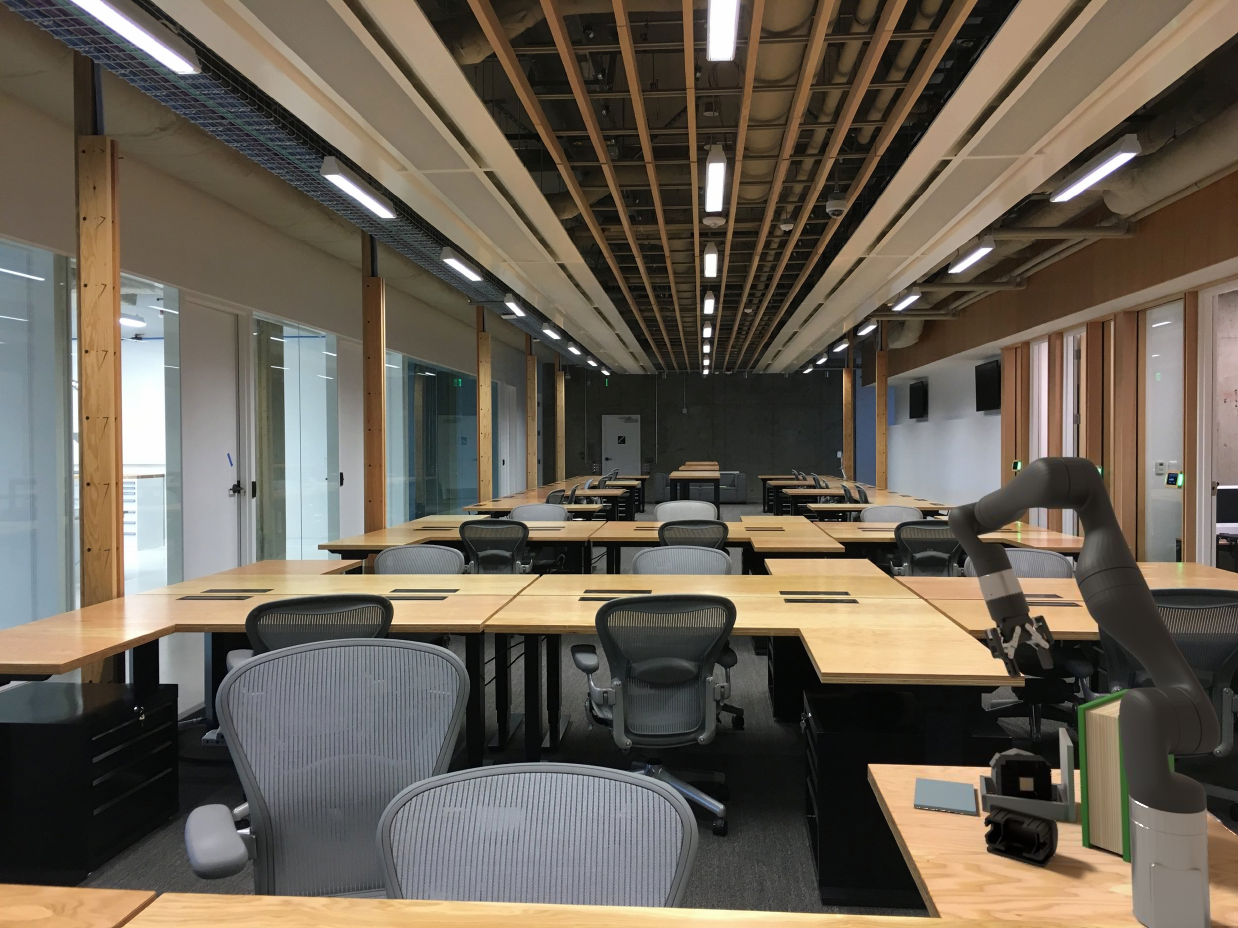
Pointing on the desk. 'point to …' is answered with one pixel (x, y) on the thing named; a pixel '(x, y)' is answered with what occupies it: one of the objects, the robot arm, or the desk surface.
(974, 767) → the desk surface
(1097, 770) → the hardback book
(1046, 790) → the cpu cooler
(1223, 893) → the desk surface
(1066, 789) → the open rectangular frame
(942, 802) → the rubber mat
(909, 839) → the desk surface
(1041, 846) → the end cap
